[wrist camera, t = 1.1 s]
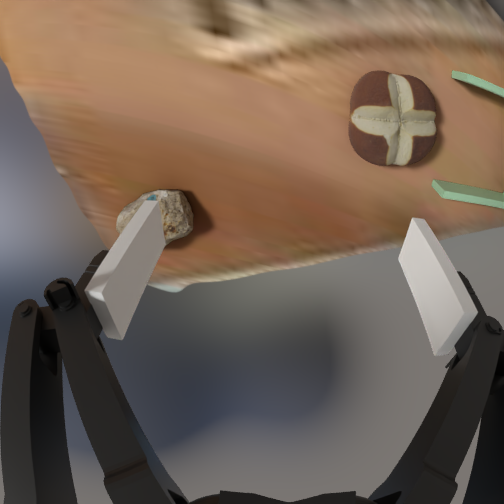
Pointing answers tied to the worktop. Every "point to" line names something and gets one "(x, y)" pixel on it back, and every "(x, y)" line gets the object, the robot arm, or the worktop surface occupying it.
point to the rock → (163, 213)
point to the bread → (392, 119)
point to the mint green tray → (464, 191)
